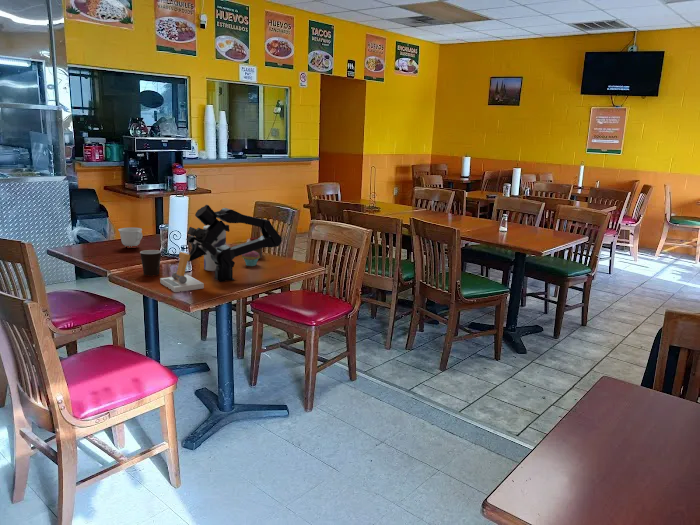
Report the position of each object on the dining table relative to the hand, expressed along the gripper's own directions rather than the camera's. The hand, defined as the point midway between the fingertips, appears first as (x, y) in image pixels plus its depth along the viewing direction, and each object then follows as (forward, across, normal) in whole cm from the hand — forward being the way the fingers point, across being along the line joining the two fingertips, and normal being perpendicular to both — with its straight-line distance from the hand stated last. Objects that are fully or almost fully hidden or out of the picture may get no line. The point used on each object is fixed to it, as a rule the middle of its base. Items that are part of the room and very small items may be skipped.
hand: (187, 261), depth 228 cm
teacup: (+5, -82, +10) cm, 83 cm away
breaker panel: (+9, 0, +5) cm, 10 cm away
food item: (-29, -36, +43) cm, 63 cm away
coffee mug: (+11, -25, +3) cm, 28 cm away
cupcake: (-20, -19, +35) cm, 45 cm away
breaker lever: (+8, 0, +2) cm, 8 cm away
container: (-8, -20, +22) cm, 31 cm away
